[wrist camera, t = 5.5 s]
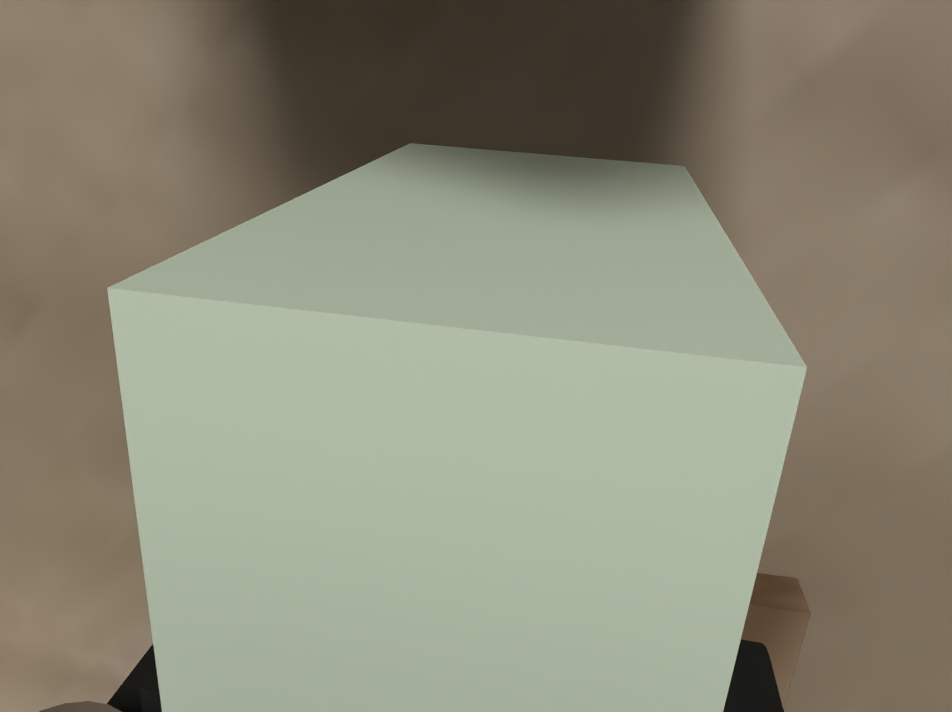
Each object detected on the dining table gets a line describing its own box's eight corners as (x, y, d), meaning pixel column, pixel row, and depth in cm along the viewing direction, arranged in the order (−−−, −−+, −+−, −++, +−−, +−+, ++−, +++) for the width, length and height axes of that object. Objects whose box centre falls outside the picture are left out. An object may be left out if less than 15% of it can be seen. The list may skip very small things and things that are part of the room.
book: (684, 165, 11) (807, 369, 4) (593, 734, 15) (578, 1307, 8) (410, 143, 11) (107, 286, 5) (395, 699, 16) (226, 1210, 9)
